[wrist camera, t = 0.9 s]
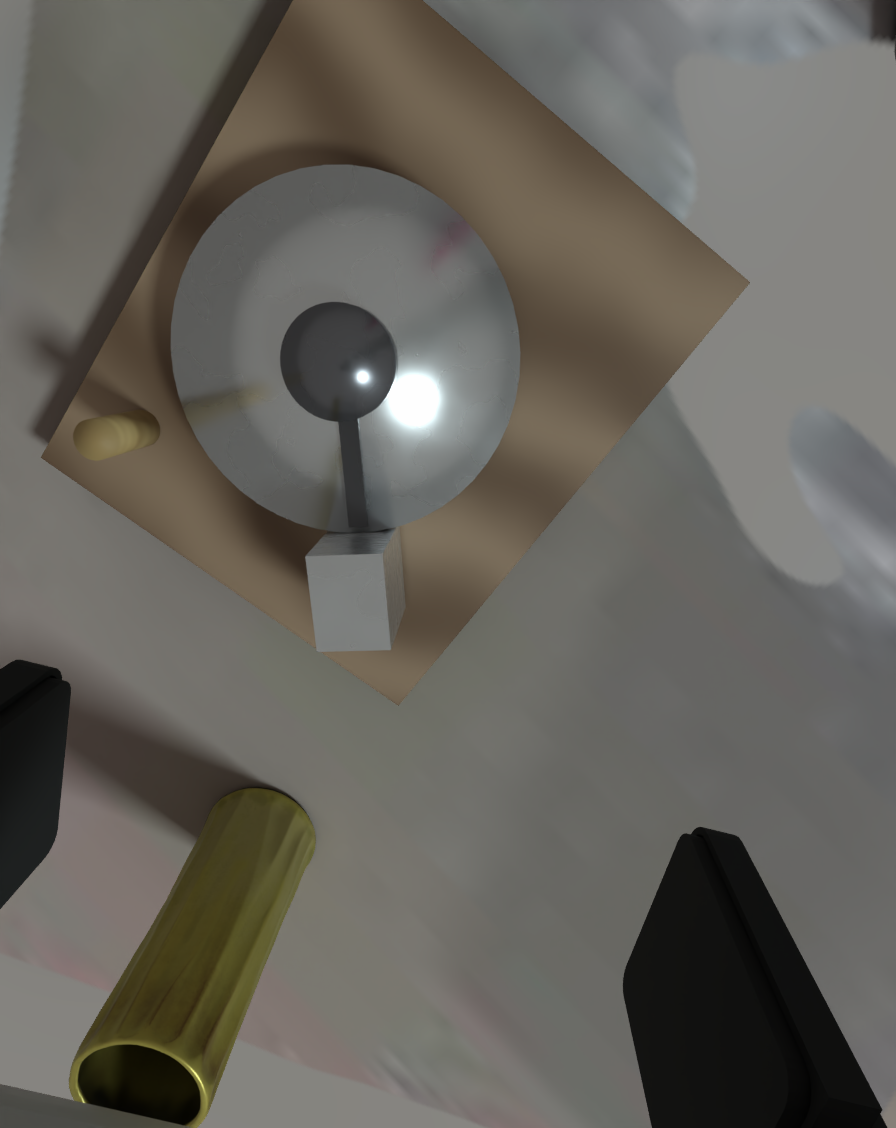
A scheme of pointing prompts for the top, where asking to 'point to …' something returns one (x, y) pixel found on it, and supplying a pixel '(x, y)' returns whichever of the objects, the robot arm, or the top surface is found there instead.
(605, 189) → the base plate
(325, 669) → the top surface
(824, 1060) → the robot arm
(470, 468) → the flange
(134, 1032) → the vase
